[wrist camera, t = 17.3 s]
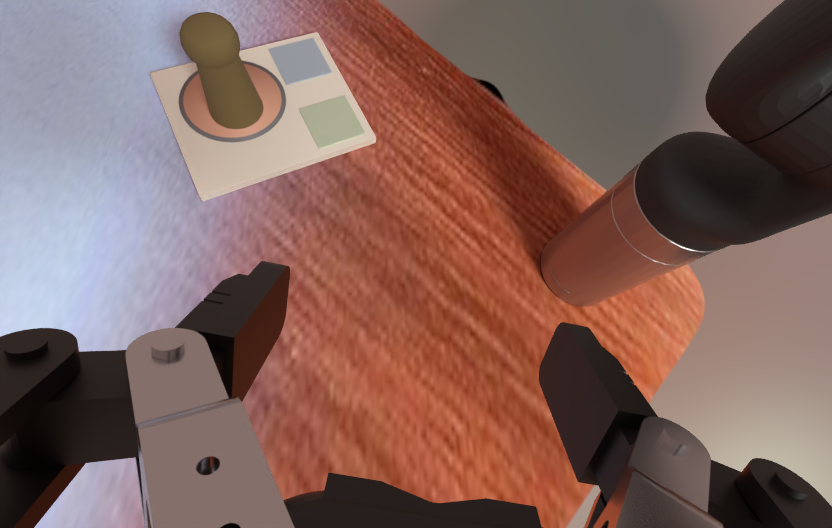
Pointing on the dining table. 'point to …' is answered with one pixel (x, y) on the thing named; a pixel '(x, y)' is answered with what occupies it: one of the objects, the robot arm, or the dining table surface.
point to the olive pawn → (221, 70)
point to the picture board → (265, 117)
